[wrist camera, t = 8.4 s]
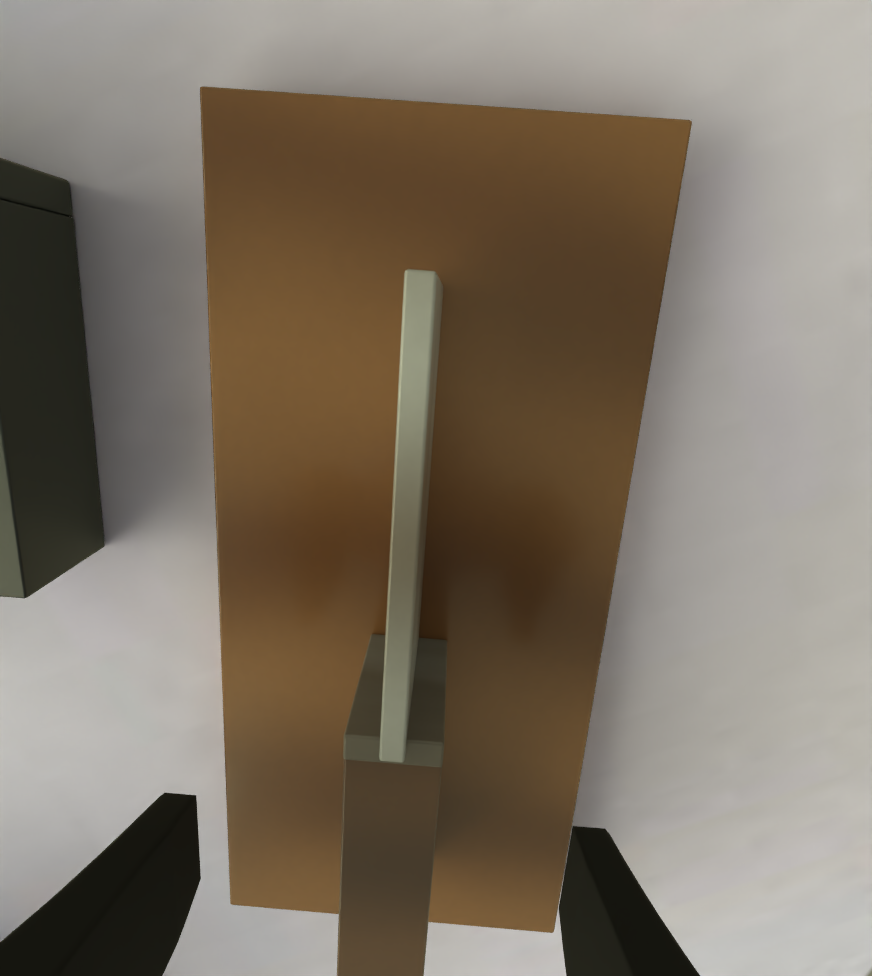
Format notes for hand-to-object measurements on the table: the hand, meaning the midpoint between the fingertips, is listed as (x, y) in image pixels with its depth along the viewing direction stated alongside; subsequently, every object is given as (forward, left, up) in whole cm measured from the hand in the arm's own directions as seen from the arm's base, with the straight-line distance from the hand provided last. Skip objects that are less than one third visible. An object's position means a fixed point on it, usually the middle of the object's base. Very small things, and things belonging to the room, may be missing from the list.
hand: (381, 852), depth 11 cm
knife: (+3, 0, -5) cm, 5 cm away
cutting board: (+3, 0, -6) cm, 7 cm away
